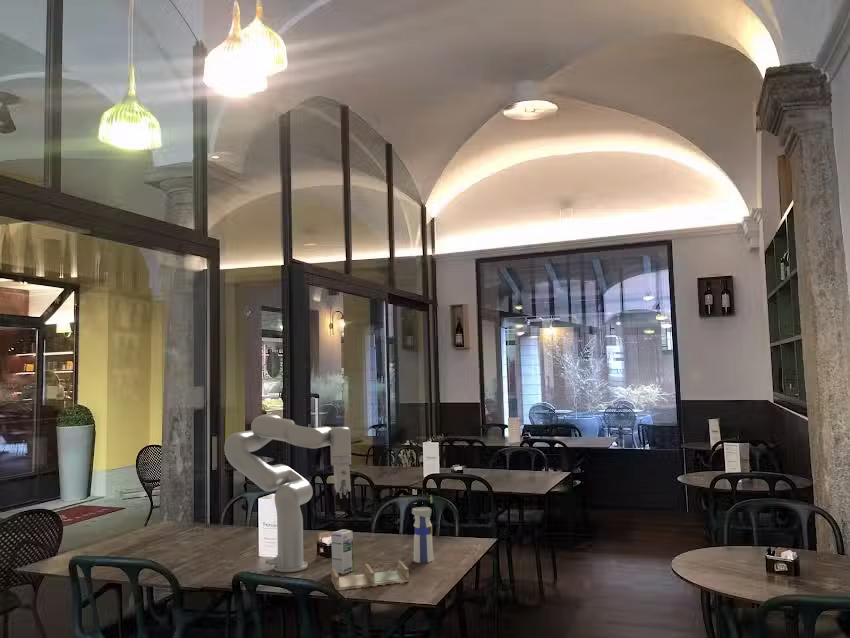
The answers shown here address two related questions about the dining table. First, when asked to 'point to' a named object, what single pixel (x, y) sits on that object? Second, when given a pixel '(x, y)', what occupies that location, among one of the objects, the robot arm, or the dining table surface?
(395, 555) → the dining table surface
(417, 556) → the water bottle
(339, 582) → the slot rack
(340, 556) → the syrup box
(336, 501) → the robot arm
